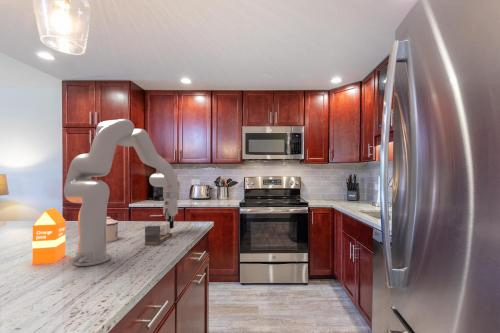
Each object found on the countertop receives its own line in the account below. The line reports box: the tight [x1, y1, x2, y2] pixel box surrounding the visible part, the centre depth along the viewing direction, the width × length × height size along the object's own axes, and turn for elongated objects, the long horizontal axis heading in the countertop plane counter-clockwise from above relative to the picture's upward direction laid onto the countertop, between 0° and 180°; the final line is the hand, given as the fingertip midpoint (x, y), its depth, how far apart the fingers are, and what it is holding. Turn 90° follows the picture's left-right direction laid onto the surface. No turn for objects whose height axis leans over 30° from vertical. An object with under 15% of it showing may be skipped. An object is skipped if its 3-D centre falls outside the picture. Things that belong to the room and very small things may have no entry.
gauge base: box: [144, 225, 173, 246], centre depth 131 cm, size 18×6×8 cm, turn 175°
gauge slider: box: [158, 221, 171, 235], centre depth 135 cm, size 6×6×6 cm
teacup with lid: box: [106, 216, 119, 243], centre depth 133 cm, size 12×9×12 cm
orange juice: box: [31, 207, 67, 265], centre depth 103 cm, size 8×9×20 cm
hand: (170, 228), depth 145 cm, fingers closed
